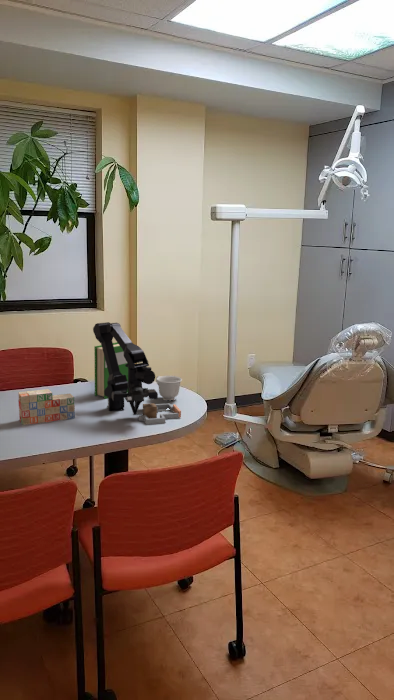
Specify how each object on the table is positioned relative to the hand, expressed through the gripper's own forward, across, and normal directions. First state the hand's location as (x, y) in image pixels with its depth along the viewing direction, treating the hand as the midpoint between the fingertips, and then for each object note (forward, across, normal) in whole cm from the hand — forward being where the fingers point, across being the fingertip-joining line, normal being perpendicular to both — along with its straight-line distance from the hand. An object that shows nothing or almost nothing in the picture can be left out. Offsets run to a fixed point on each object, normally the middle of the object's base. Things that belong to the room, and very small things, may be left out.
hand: (134, 414), depth 230 cm
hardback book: (+1, -3, +36) cm, 36 cm away
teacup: (+1, +20, +23) cm, 31 cm away
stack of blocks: (+2, -36, +5) cm, 36 cm away
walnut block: (+1, +7, 0) cm, 7 cm away
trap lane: (+1, +10, 0) cm, 10 cm away
